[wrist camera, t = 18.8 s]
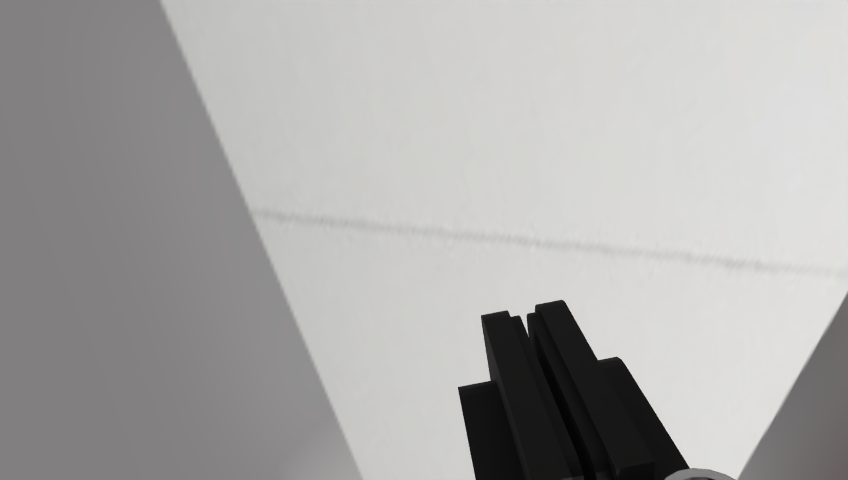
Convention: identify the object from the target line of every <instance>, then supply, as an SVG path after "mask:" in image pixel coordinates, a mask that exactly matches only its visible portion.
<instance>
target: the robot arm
mask: <svg viewBox="0 0 848 480" xmlns="http://www.w3.org/2000/svg"><path fill="white" fill-rule="evenodd" d="M481 320H482V327H483V334H484V340H485V347H486V353H487V360H488V366H489V373H490V379H491V381H488V382H483V383H477V384H472V385H467V386H462V387H458V390H459V395H460V401H461V406H462V411H463V416H464V421H465V426H466V432H467V437H468V442H469V447H470V452H471V457H472V462H473V468H474V473H475V478H476V480H735V479H733V478H731V477H729V476H728V475H726V474H722V473H719V472H716V471H713V470H709V469H697V468H691V469H690V468H689V466H688V465H687V463H686V461H685V460H684V458H683V457H682V455H681V453H680V452H679V450H678V449H677V447H676V445H675V444H674V442H673V441H672V439H671V437H670V436H669V434H668V433H667V431H666V429H665V428H664V426H663V425H662V423H661V421H660V420H659V418H658V417H657V415H656V413H655V412H654V410H653V409H652V407H651V405H650V404H649V402H648V401H647V399H646V397H645V396H644V394H643V393H642V391H641V389H640V388H639V386H638V385H637V383H636V381H635V380H634V378H633V377H632V375H631V373H630V372H629V370H628V369H627V367H626V365H625V364H624V363H623V361H622V360H621V359H620V358H618V357H613V358H608V359H603V360H597V358H596V356H595V355H594V353H593V351H592V349H591V347H590V346H589V344H588V342H587V340H586V339H585V337H584V335H583V333H582V331H581V330H580V328H579V326H578V324H577V323H576V321H575V319H574V317H573V315H572V314H571V312H570V310H569V308H568V307H567V305H566V303H565V302H564V301H563V300H559V301H554V302H548V303H543V304H538V305H536V306H535V312H534V313H529V314H527V325H528V334H529V337H528V334H527V332H526V329H525V327H524V325H523V322H522V320H521V317H520V316H514V317H510V314H509V312H508V311H502V312H496V313H491V314H486V315H481Z"/></svg>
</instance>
